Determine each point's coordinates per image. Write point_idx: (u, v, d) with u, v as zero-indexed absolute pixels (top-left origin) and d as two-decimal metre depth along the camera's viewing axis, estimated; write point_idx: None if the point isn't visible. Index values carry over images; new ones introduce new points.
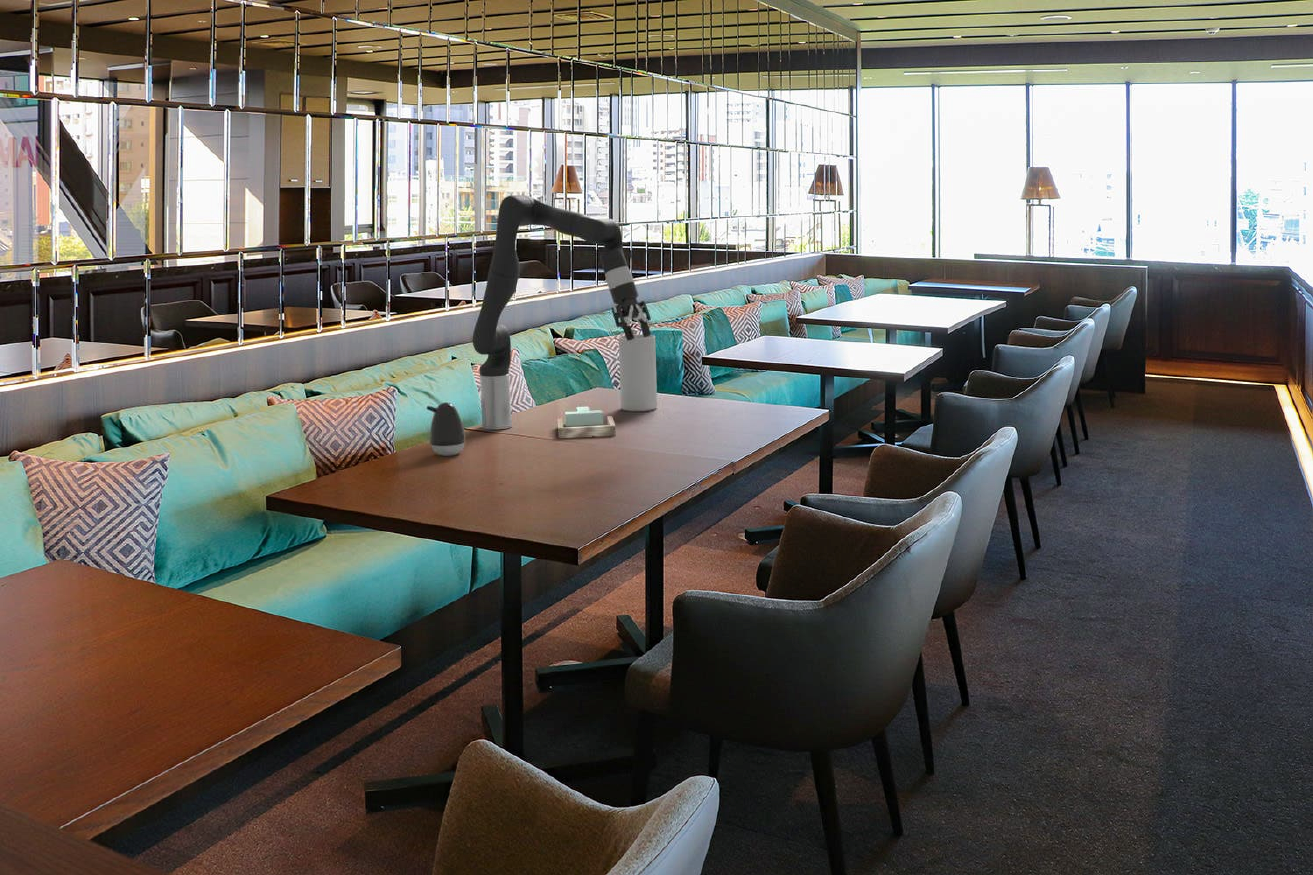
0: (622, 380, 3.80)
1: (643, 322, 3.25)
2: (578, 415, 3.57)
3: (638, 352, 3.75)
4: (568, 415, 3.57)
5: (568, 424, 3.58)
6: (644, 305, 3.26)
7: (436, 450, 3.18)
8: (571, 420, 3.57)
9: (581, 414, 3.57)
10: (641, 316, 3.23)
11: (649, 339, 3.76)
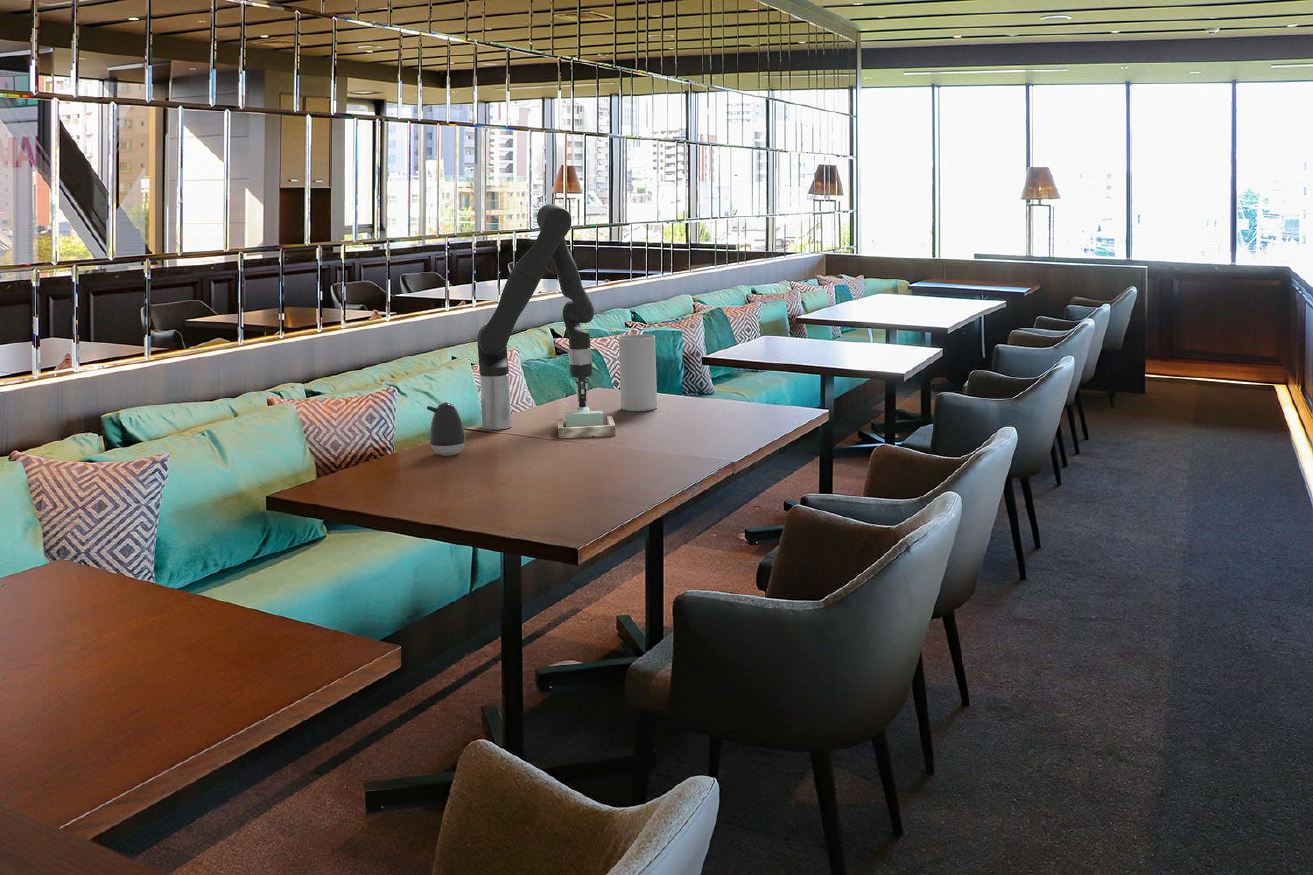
0: (622, 380, 3.80)
1: None
2: (578, 415, 3.56)
3: (638, 352, 3.75)
4: (568, 415, 3.56)
5: (568, 424, 3.57)
6: None
7: (436, 450, 3.18)
8: (571, 420, 3.56)
9: (581, 414, 3.56)
10: None
11: (649, 339, 3.76)
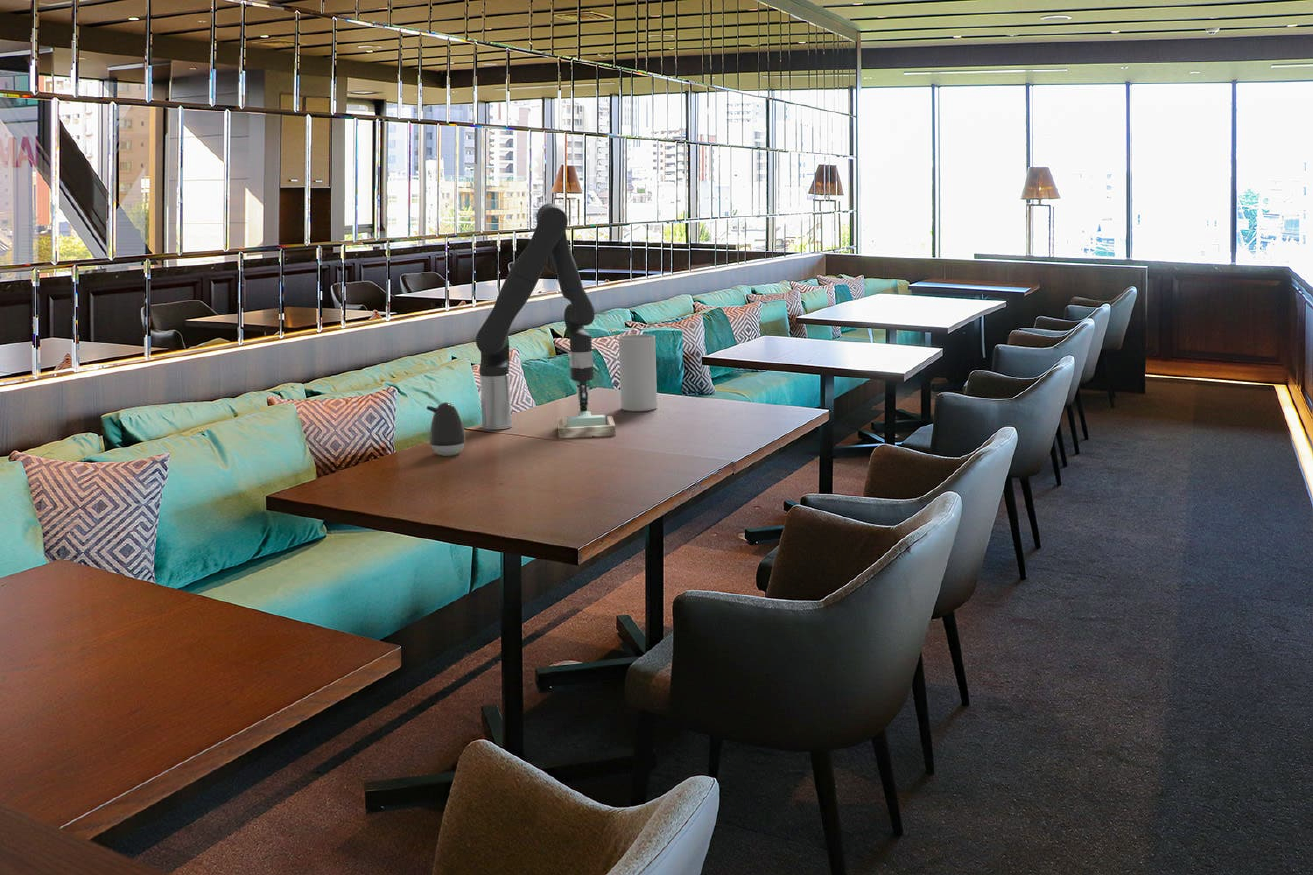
0: (622, 380, 3.80)
1: None
2: (580, 420, 3.49)
3: (638, 352, 3.75)
4: (570, 420, 3.49)
5: None
6: None
7: (436, 450, 3.18)
8: (572, 424, 3.49)
9: (583, 419, 3.49)
10: None
11: (649, 339, 3.76)
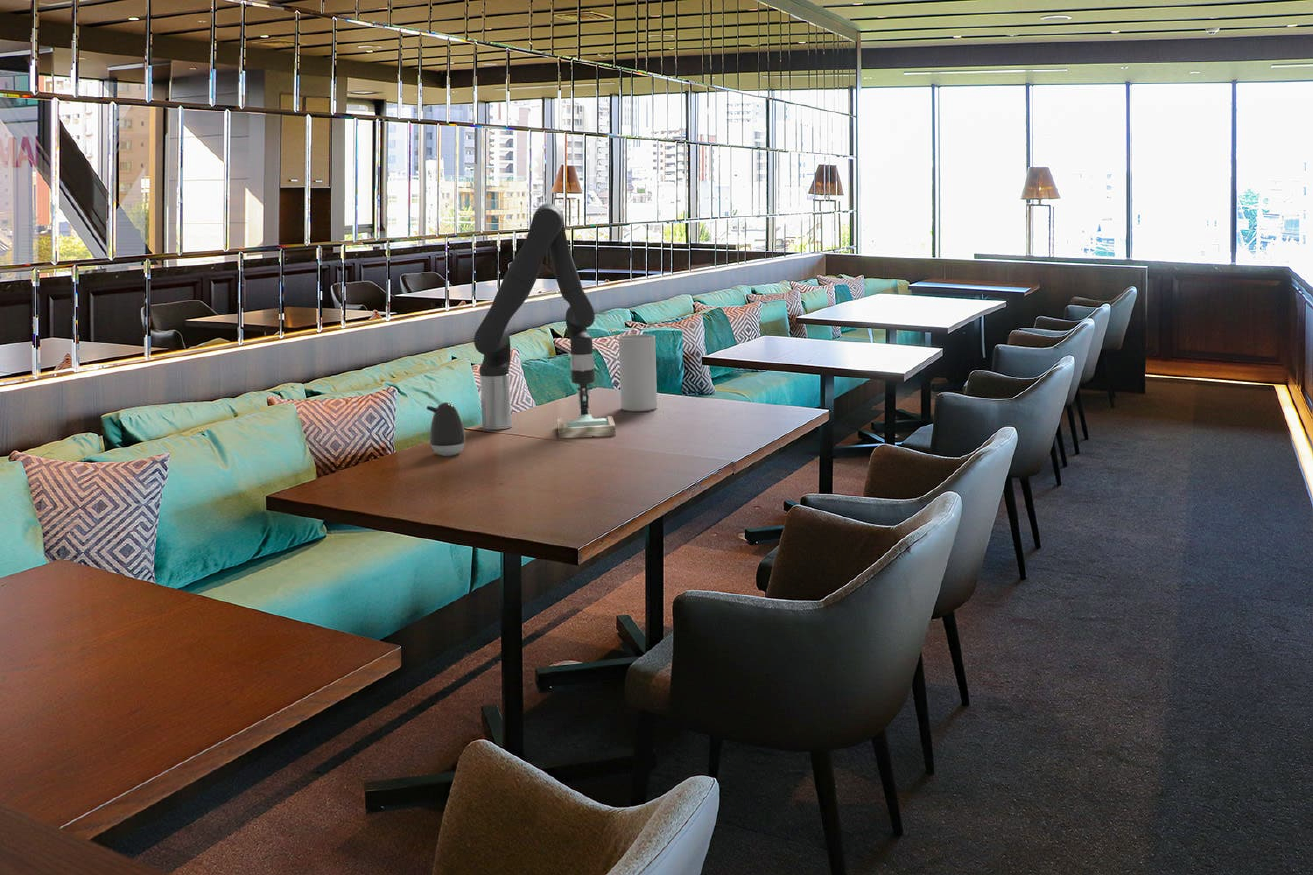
0: (622, 380, 3.80)
1: None
2: (581, 423, 3.43)
3: (638, 352, 3.75)
4: (571, 423, 3.43)
5: None
6: None
7: (436, 450, 3.18)
8: None
9: (584, 422, 3.43)
10: None
11: (649, 339, 3.76)
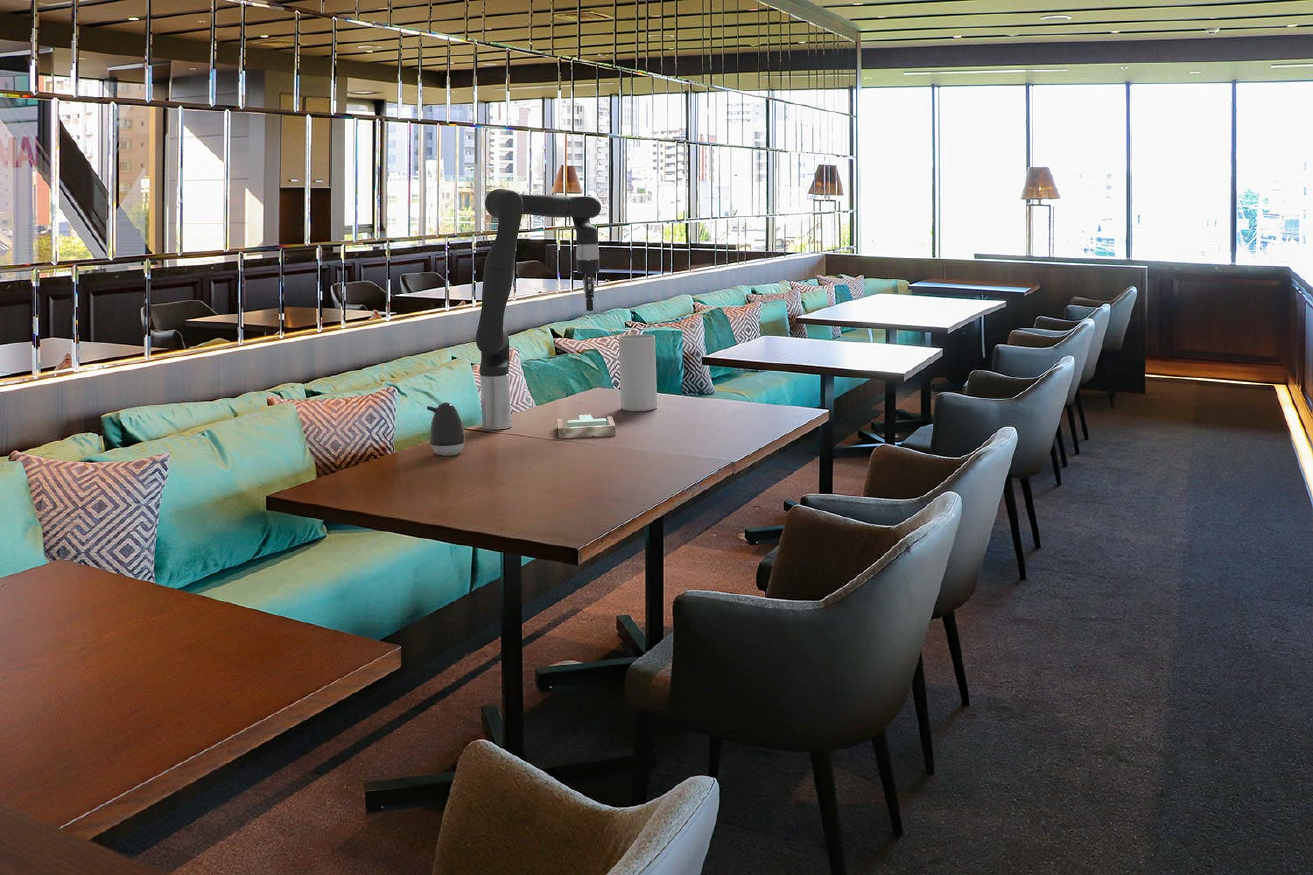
0: (622, 380, 3.80)
1: None
2: (581, 423, 3.43)
3: (638, 352, 3.75)
4: (571, 423, 3.43)
5: None
6: None
7: (436, 450, 3.18)
8: None
9: (584, 422, 3.43)
10: None
11: (649, 339, 3.76)
